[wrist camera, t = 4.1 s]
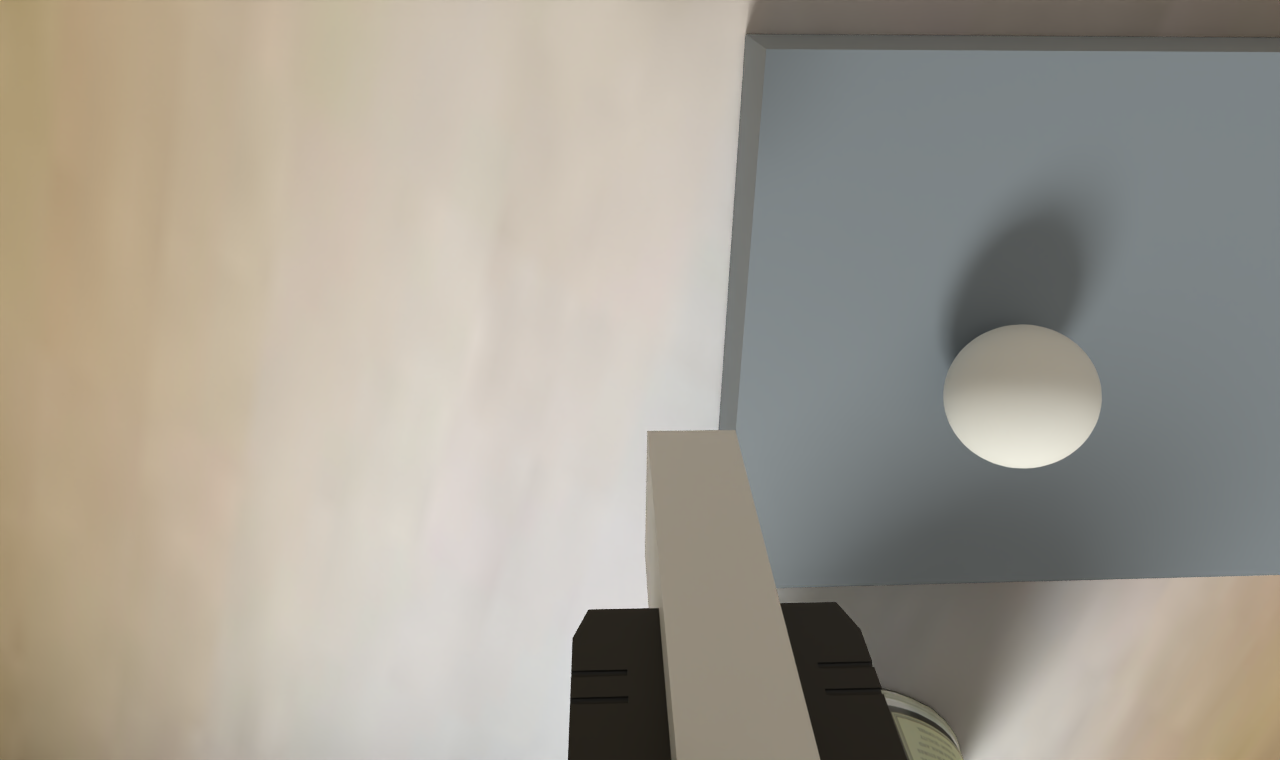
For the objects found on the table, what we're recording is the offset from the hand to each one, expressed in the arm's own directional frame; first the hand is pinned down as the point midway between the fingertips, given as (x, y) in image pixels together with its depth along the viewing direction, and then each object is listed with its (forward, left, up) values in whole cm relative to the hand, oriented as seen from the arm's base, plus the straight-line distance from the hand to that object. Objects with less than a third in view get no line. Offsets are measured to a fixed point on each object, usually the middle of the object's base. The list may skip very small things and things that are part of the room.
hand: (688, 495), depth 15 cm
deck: (+15, 0, -8) cm, 17 cm away
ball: (+8, 0, -4) cm, 9 cm away
